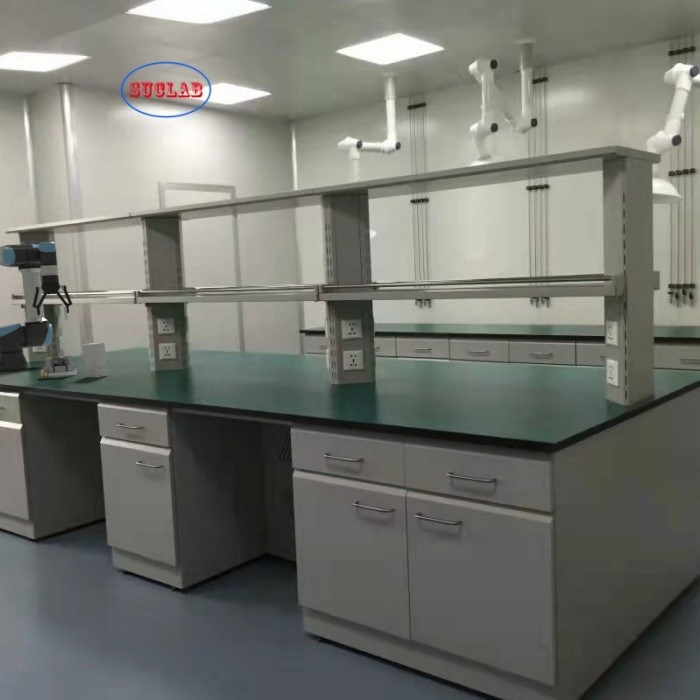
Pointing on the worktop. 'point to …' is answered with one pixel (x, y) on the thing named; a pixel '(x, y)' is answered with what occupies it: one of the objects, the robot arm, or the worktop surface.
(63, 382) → the worktop surface
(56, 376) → the housing
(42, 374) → the post
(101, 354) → the skincare box
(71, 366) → the ring nut
